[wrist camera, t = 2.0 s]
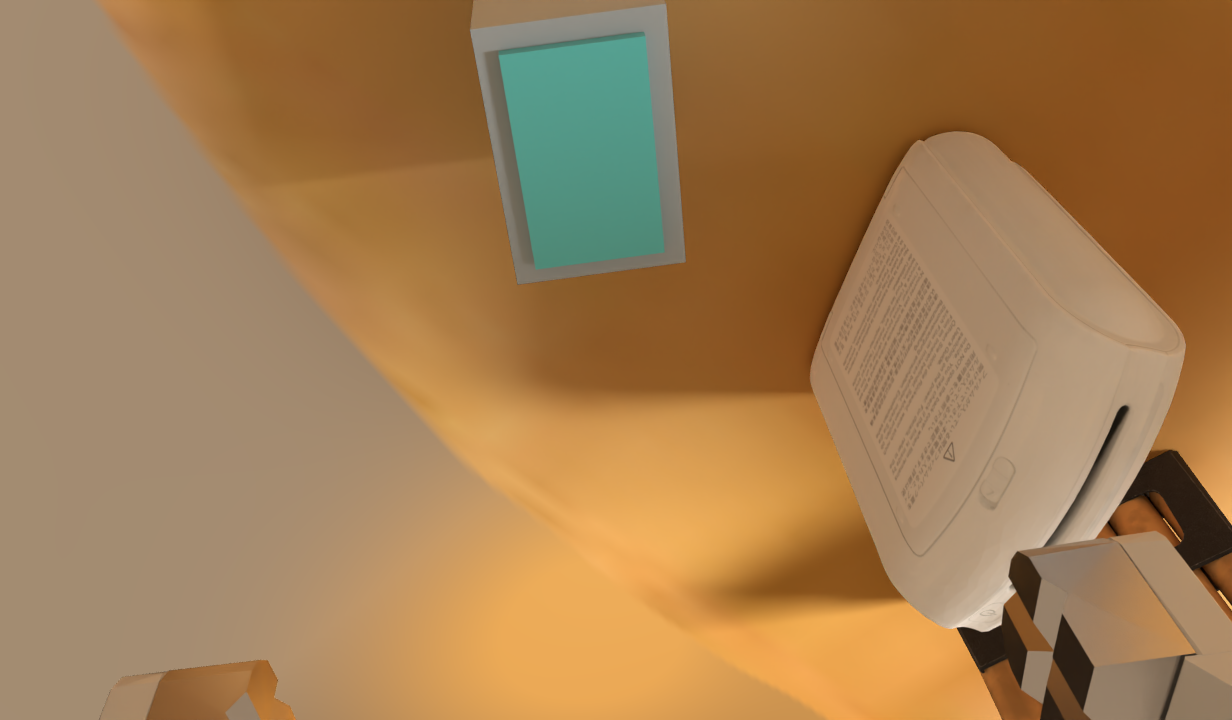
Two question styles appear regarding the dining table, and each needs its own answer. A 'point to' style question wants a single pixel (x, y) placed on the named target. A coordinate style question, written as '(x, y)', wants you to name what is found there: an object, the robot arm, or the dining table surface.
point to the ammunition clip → (1156, 493)
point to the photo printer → (986, 377)
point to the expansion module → (581, 133)
